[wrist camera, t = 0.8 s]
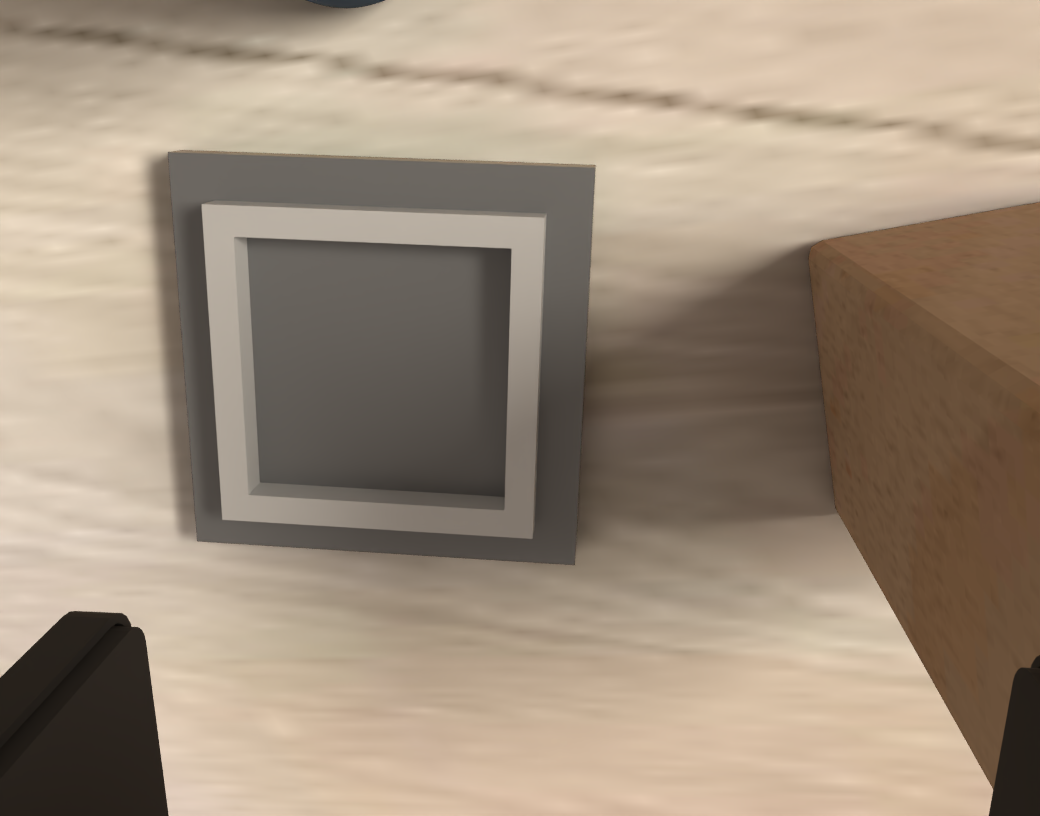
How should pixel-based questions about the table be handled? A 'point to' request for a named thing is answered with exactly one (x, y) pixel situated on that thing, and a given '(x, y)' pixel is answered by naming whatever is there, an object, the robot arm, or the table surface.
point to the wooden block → (942, 441)
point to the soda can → (345, 3)
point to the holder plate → (384, 351)
